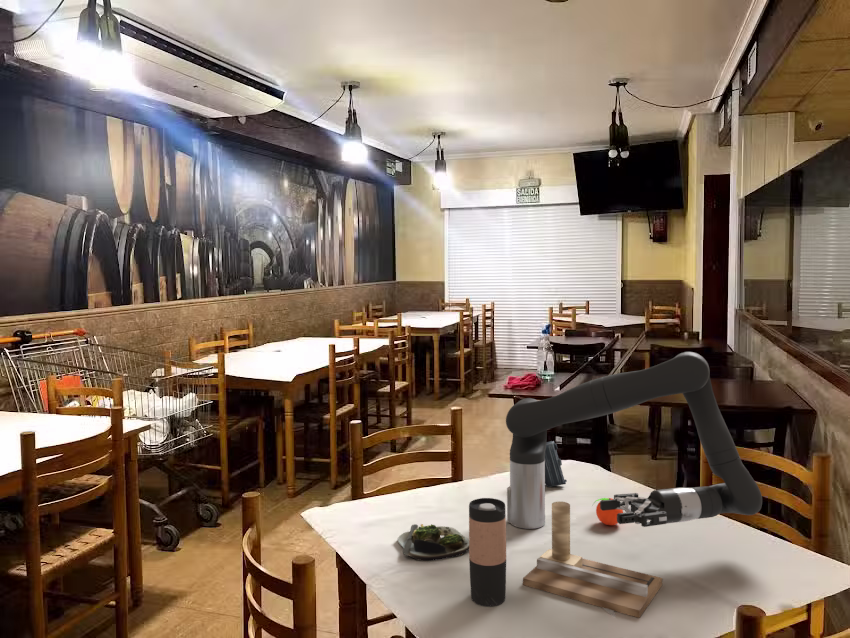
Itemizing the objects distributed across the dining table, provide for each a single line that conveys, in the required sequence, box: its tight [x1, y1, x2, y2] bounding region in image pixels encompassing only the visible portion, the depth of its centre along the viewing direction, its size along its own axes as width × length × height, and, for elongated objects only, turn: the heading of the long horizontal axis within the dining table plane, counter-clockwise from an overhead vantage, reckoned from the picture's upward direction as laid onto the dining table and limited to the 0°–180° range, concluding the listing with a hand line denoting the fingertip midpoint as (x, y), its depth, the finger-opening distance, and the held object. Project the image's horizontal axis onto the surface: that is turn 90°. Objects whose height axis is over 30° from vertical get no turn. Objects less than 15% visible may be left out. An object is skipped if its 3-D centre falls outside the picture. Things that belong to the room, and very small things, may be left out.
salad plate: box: [397, 523, 469, 562], centre depth 164 cm, size 19×18×5 cm
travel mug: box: [468, 497, 507, 607], centre depth 136 cm, size 8×8×20 cm
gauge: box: [539, 501, 583, 568], centre depth 147 cm, size 8×6×14 cm
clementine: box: [591, 497, 624, 526], centre depth 174 cm, size 8×7×7 cm
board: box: [522, 557, 663, 619], centre depth 141 cm, size 25×16×4 cm, turn 55°
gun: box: [545, 440, 567, 488], centre depth 207 cm, size 3×17×15 cm
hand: (608, 512), depth 149 cm, fingers open, 8 cm apart
